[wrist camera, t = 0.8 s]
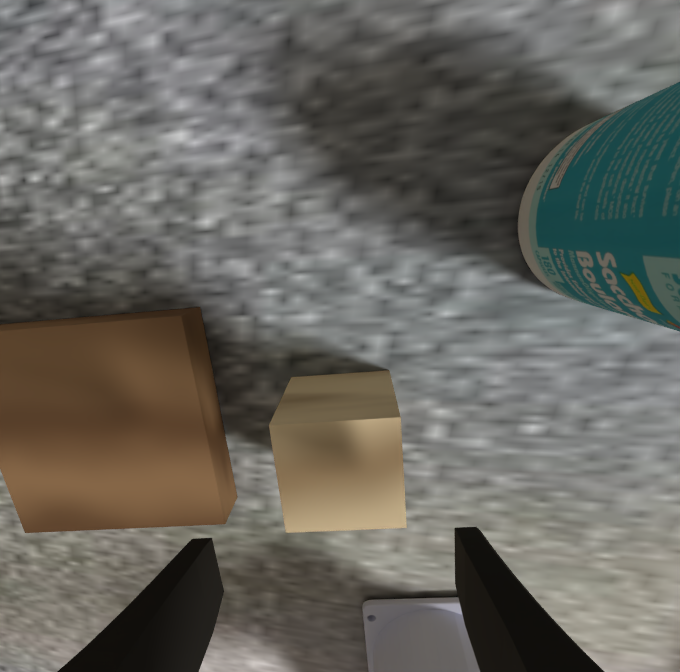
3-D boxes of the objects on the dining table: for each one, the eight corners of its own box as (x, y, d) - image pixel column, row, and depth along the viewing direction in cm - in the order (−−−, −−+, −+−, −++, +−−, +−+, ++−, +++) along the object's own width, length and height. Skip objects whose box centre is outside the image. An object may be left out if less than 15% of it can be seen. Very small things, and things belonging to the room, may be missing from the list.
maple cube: (394, 456, 20) (406, 527, 15) (303, 461, 20) (285, 532, 15) (389, 369, 18) (400, 417, 14) (291, 376, 19) (268, 425, 14)
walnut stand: (237, 497, 21) (225, 523, 19) (54, 506, 21) (25, 532, 20) (200, 307, 18) (181, 315, 16) (-9, 325, 19) (-52, 335, 17)
